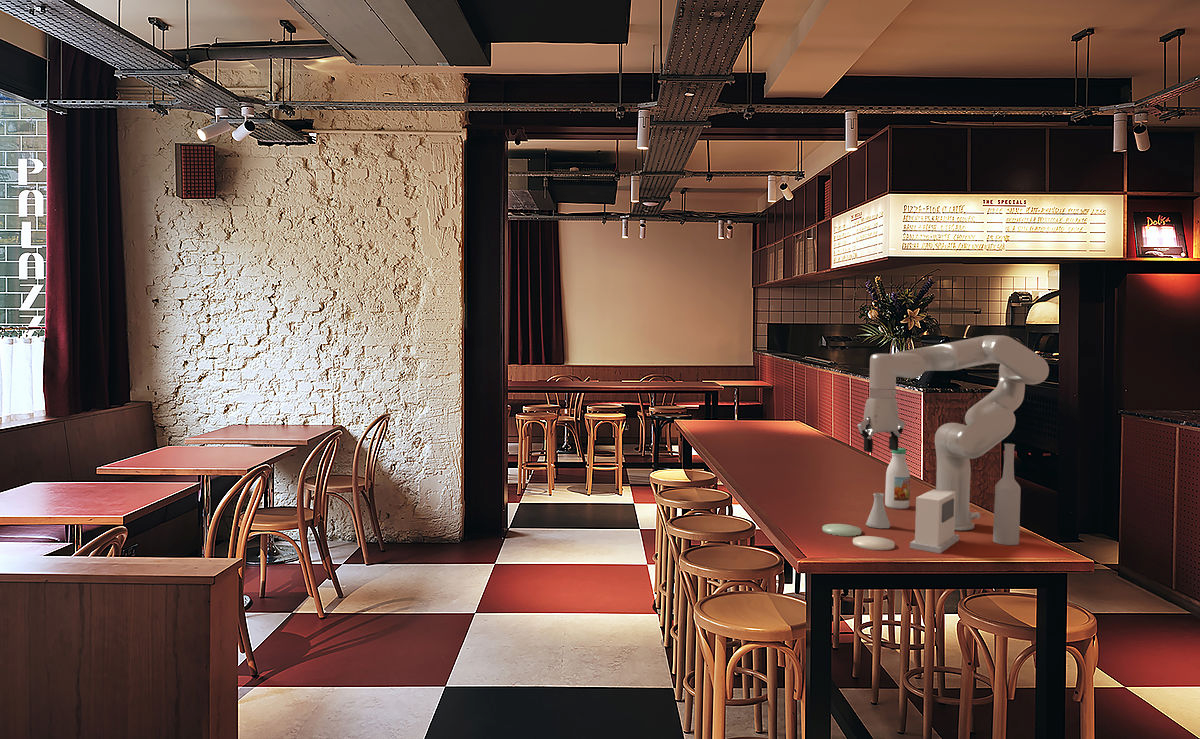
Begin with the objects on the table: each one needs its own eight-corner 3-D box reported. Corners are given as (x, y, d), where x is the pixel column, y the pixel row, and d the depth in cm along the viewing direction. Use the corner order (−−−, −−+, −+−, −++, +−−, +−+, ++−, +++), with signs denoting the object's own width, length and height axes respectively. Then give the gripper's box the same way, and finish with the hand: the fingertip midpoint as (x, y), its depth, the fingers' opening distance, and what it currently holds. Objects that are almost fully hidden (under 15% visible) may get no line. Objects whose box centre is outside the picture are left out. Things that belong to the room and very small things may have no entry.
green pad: (844, 525, 244) (845, 522, 244) (869, 534, 234) (869, 531, 234) (814, 528, 240) (814, 525, 240) (838, 537, 230) (838, 534, 230)
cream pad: (875, 538, 230) (876, 534, 230) (903, 548, 220) (903, 544, 220) (844, 541, 226) (844, 537, 226) (870, 551, 216) (870, 548, 216)
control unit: (909, 548, 220) (911, 497, 219) (929, 535, 234) (931, 487, 233) (940, 553, 215) (941, 501, 214) (958, 540, 229) (960, 491, 228)
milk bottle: (884, 508, 270) (886, 449, 269) (885, 503, 277) (887, 446, 276) (908, 510, 267) (910, 450, 266) (909, 505, 274) (911, 447, 273)
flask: (892, 529, 240) (893, 496, 240) (867, 528, 241) (868, 495, 241) (888, 524, 247) (889, 492, 247) (864, 522, 249) (864, 490, 248)
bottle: (1007, 546, 223) (1011, 446, 221) (987, 540, 229) (991, 443, 227) (1024, 544, 225) (1028, 445, 224) (1004, 538, 231) (1007, 442, 230)
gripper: (895, 392, 249) (894, 447, 249) (850, 394, 242) (849, 450, 243) (913, 394, 242) (912, 451, 242) (868, 396, 235) (866, 454, 236)
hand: (880, 450), depth 243 cm, fingers open, 9 cm apart
